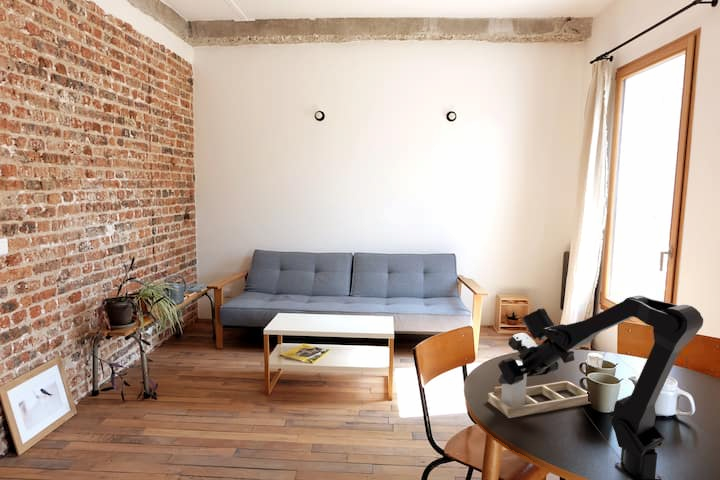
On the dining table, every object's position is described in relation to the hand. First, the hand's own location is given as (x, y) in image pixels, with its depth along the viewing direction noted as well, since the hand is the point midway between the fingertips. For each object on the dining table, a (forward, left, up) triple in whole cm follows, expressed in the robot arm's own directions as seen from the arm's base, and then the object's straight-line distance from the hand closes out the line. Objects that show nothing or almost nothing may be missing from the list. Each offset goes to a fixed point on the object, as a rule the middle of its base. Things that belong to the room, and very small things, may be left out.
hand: (511, 378), depth 129 cm
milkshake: (+12, -35, -8) cm, 38 cm away
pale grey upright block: (-1, 0, -8) cm, 8 cm away
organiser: (0, -10, -8) cm, 13 cm away
